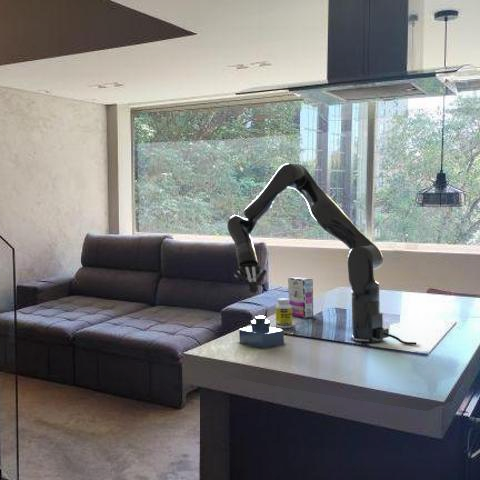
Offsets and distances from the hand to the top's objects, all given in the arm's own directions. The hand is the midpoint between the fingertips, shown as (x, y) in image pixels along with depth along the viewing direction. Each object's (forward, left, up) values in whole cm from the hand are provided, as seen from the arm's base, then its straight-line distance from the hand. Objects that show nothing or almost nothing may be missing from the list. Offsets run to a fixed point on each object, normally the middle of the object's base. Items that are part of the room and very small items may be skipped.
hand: (254, 292), depth 222 cm
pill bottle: (+3, -18, -16) cm, 24 cm away
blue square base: (-11, +7, -16) cm, 21 cm away
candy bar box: (+13, -38, -16) cm, 43 cm away
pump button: (-8, +5, -10) cm, 14 cm away
